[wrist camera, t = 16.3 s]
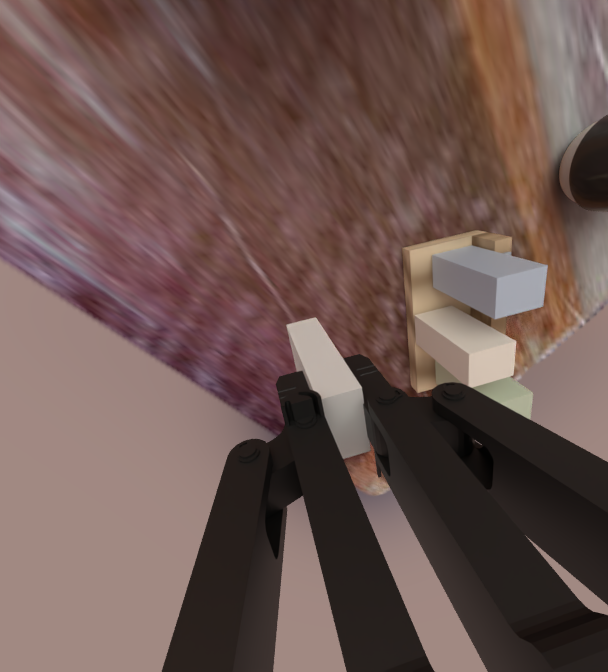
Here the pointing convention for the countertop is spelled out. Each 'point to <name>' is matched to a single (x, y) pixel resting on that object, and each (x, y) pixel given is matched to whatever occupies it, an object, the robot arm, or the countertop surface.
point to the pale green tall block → (496, 391)
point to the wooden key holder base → (439, 294)
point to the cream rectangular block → (465, 346)
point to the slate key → (490, 280)
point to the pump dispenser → (587, 168)
